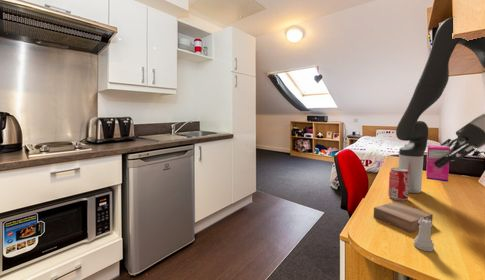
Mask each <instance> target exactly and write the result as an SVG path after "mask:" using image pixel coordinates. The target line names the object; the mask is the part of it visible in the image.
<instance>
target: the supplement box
mask: <svg viewBox="0 0 485 280" xmlns="http://www.w3.org/2000/svg"><path fill="white" fill-rule="evenodd" d="M426 151H427V152H426V158H427V160H426V173H425V175H426V179H427V180H431V181H439V182H440V181H441V182H449V172H450V171H449V170H450V162H449V163H447V164H446V165H444V166H442V167H441V168H438V167H437V166H436V165H434V162H436V161H437V160H439V159H440V158H442V157H443V156H444V157H445V155H446V154H447V153H448V152H450V147H449V146H440V145H434V144H433V145H432V144H427V150H426Z"/></svg>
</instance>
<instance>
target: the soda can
mask: <svg viewBox="0 0 485 280" xmlns="http://www.w3.org/2000/svg"><path fill="white" fill-rule="evenodd" d="M388 176H389V178H388V197H389V198H390V199H392V200H395V201H401V202H402V201H407V200H408V199H409V194H410V193H409V176H410V174H409V172H408V169H404V168H398V167H391V168H390V170H389V175H388Z"/></svg>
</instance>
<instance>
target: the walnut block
mask: <svg viewBox="0 0 485 280" xmlns="http://www.w3.org/2000/svg"><path fill="white" fill-rule="evenodd" d="M373 218H375V219H377V220H380V221H381V222H384V223H387V224H388V223H389V224H388V225H391V226H393V227H395V226H396V228H399V229H400V230H403V231H405V232H408V233H410V234H411V233H413V232H416V231H419V226H420V224H419V223H418V221H419V220H420V218H424V220H426V218H427V219H428V221H429V220H431V221H432V222H433V213H429V212H427V211H425V210H424V211H423V210H421V209H419V208H415V207H412V206H409V205H406V204H404V203H401V202H398V201H392V202H390V203H385V204H381V205H378V206H374V207H373Z"/></svg>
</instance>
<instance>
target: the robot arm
mask: <svg viewBox="0 0 485 280" xmlns="http://www.w3.org/2000/svg"><path fill="white" fill-rule="evenodd" d="M453 17H454V16H452V17H448V18H447V19H445V20H444V21H443V22H441V24H440V25H439V27H438V28H437V30H436V32H435V35H434V38H433V42H432V44H431V48H430V52H429V55H428V57H427V60H426V62H425V65H424V68H423V71H422V73H421V75H420V78H419V80H418V81H417V84H416V87H415V89H414V91H413V94H412V96H411V99H410V101H409V103H408V106H407V107H406V110H405V111H404V113H403V114H402V117H401V119H400V120H399V122H398V124H397V126H396V129H395V130H396V131H395V135H396V138H397V139H398V140H400V141H407V142H408V143H407V145H405V146H402V147H400V148H399V151H398V166H397V168H404V169H408V172H409V174H410V176H409V194H421V192H422V186H423V183H422V182H423V173H424V172H423V168H424V156H425V155H424V154H425V152H426V151H427V147H428V140H429V139H428V138H429V127H428V124H427V123H426V122H425V121H422V120H419V118H420V117H421V115H422V114H423V113H424V112H426V110H428V108H429V109H430V107H431V106H432V105H434V104H435V103H436V102H437V101H438V100H439V99H440V98H441V96H442V94H443V93H444V91H445V88H446V86H447V85H448V82H449V77H450V71H449V64H450V63H449V62H450V59H451V57H452V55H453V53H454V50H455V48H456V46H457V45H461V46H464V47H466V48H468V49H469V50H471V52H472V53H474V55H476V57H477V59H478V61H479V63H480V66H482V68H483V69H484V70H485V37H481V38H477V39H473V40H469V41H467V40H465V39H462V38H455V39H452V33H453ZM455 135H456V136H457V138H455V139H451V138H448V139H446V140H445V141H444V142H442V143H441V144H439V146H449V147H450V152H448V153H447V154H446V155H445V157H444V156H443V157H442V158H440V159H439V160H437V161H436V162H434V165H436V166H437V167H438V168H441V167H442V166H444V165H446V164H447V163H449V164H450V162H453V161H454V162H459V161H460V160H462V159H463V158H465V157H467V156H468V155H470V154H471V153H472V152H475V151H476V149H479V148H481V147H483V146H484V145H485V112H484V113H482V114H481V115H479V116H477V117H475V118H474V119H472V120H471V121H469V123H468V122H467V124H465V125H464V126H462V127H461V128H460V129H458V130H457V131H456V132H455ZM425 160H426V161H427V157H425Z"/></svg>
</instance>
